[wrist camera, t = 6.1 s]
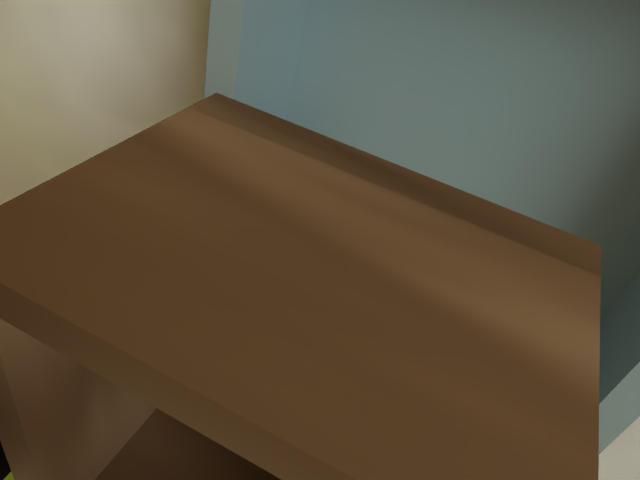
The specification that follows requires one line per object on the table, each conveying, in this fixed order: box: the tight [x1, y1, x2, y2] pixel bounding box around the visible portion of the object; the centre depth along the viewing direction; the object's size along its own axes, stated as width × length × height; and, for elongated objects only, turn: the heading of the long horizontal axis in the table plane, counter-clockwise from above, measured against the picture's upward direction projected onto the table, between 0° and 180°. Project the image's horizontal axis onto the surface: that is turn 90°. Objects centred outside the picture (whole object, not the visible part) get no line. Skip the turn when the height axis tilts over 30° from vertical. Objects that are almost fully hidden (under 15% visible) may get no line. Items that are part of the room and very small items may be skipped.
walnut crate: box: [0, 93, 601, 480], centre depth 8 cm, size 6×6×5 cm
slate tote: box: [204, 0, 640, 454], centre depth 15 cm, size 15×15×5 cm
